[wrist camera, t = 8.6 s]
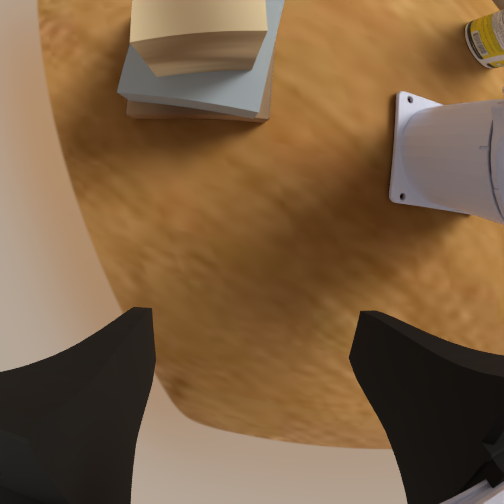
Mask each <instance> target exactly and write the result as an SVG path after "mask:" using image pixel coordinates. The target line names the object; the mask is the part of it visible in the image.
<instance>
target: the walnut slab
mask: <svg viewBox="0 0 504 504" xmlns="http://www.w3.org/2000/svg"><path fill="white" fill-rule="evenodd" d="M274 51H275V43H274V48H273V52H272V56H271V61H270V65H269V70H268V74H267V78H266V83H265V87H264V92H263V97H262V101H261V106H260V110H259V113H258V114H257V115H256V117H255V118H254V119H251V118H246V117H241V116H236V115H230V114H225V113H219V112H214V111H208V110H201V109H195V108H188V107H181V106H173V105H165V104H157V103H147V102H137V101H129V100H128V99H127V109H126V115H128V116H130V117H132V118H134V119H142V118H190V119H217V120H234V121H248V122H260V123H265V122H266V121H267V120H269V119H270V106H271V92H272V78H273V65H274Z"/></svg>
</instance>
